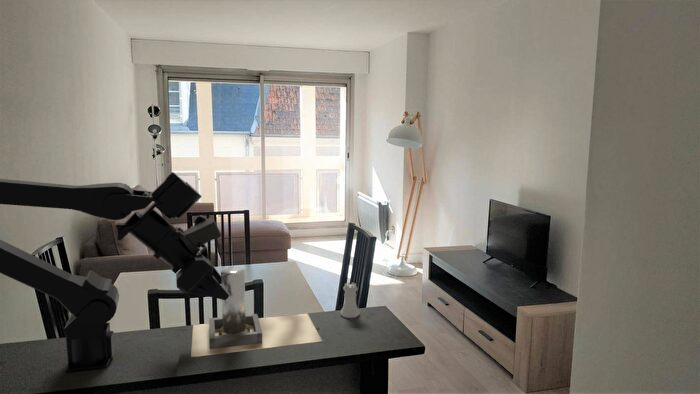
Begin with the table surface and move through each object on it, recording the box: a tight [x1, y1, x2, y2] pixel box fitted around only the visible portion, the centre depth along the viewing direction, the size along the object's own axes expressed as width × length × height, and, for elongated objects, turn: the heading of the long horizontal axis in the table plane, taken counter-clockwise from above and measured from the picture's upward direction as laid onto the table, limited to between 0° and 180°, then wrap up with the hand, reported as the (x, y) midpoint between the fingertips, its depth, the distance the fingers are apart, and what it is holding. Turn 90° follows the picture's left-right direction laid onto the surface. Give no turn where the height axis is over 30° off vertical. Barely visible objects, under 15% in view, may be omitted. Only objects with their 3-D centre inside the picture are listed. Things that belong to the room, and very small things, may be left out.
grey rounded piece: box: [219, 267, 250, 336], centre depth 89 cm, size 6×6×13 cm
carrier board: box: [190, 313, 323, 358], centre depth 91 cm, size 24×14×3 cm, turn 107°
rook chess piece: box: [340, 281, 361, 319], centre depth 101 cm, size 4×4×8 cm
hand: (224, 289), depth 88 cm, fingers open, 9 cm apart
